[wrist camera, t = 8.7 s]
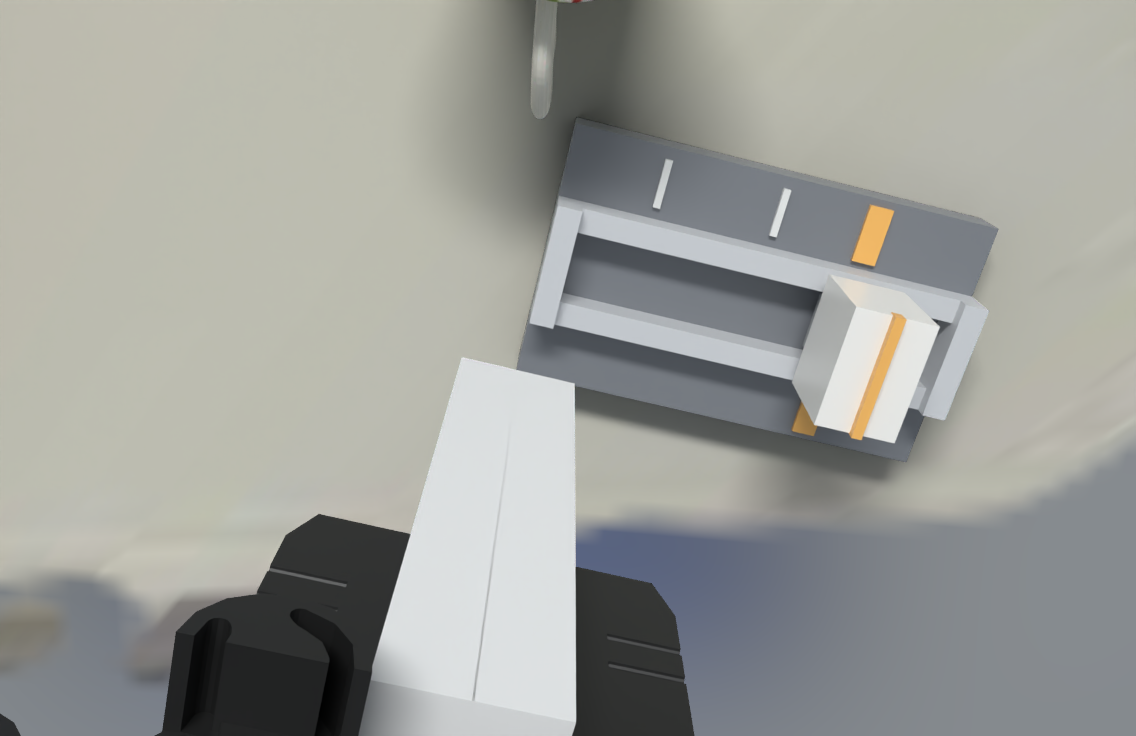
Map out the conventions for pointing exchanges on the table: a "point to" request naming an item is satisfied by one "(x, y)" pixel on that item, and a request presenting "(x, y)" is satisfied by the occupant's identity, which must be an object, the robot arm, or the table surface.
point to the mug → (544, 55)
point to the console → (734, 281)
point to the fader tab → (863, 358)
